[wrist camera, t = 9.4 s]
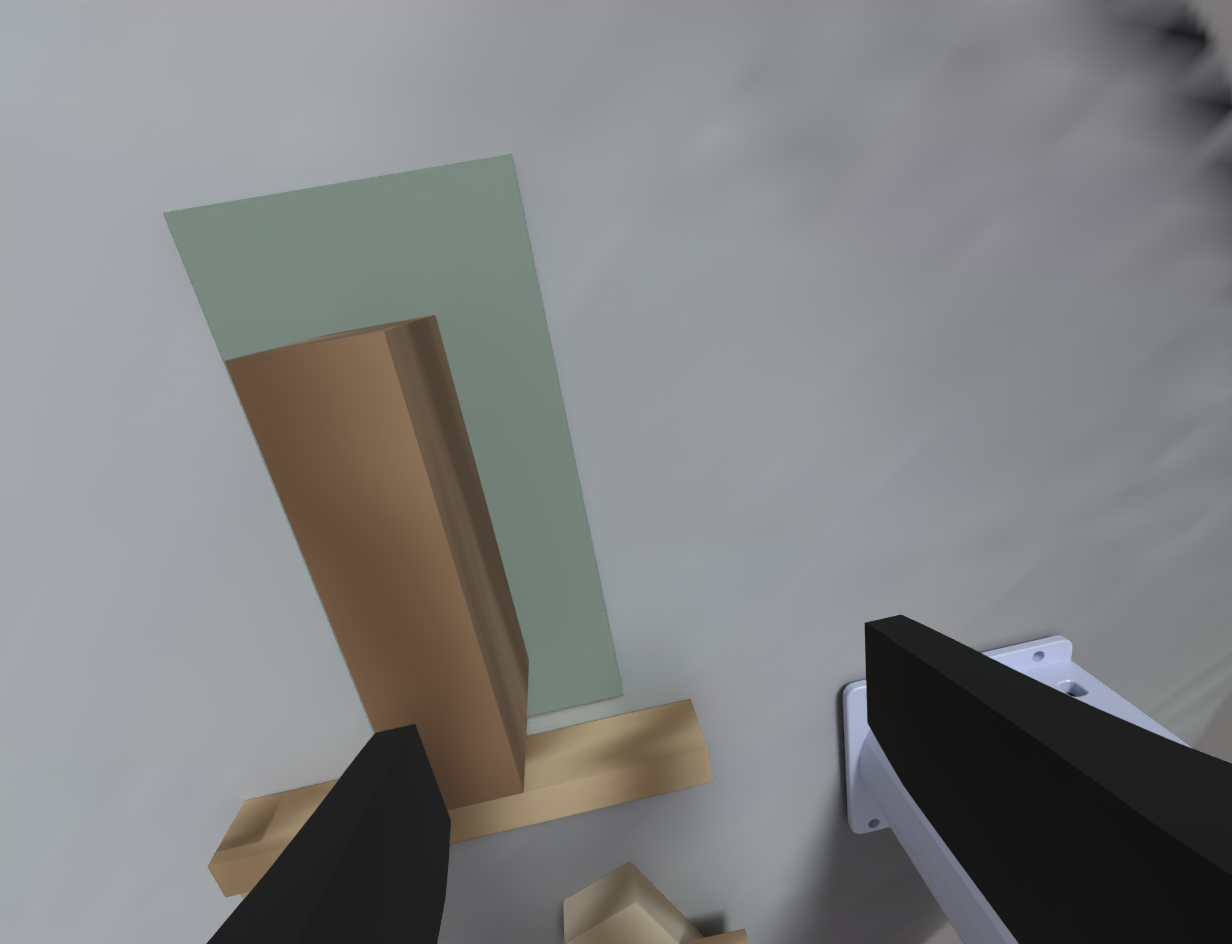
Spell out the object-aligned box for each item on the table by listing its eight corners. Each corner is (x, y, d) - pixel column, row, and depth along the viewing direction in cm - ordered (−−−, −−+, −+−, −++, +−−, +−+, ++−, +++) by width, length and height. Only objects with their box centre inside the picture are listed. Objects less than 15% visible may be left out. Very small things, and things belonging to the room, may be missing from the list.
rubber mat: (512, 157, 15) (511, 154, 15) (622, 687, 21) (623, 695, 21) (172, 215, 15) (162, 212, 14) (383, 741, 21) (380, 749, 21)
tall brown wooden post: (435, 314, 16) (384, 331, 11) (528, 660, 20) (524, 792, 15) (328, 334, 16) (224, 361, 11) (444, 679, 20) (409, 819, 15)
